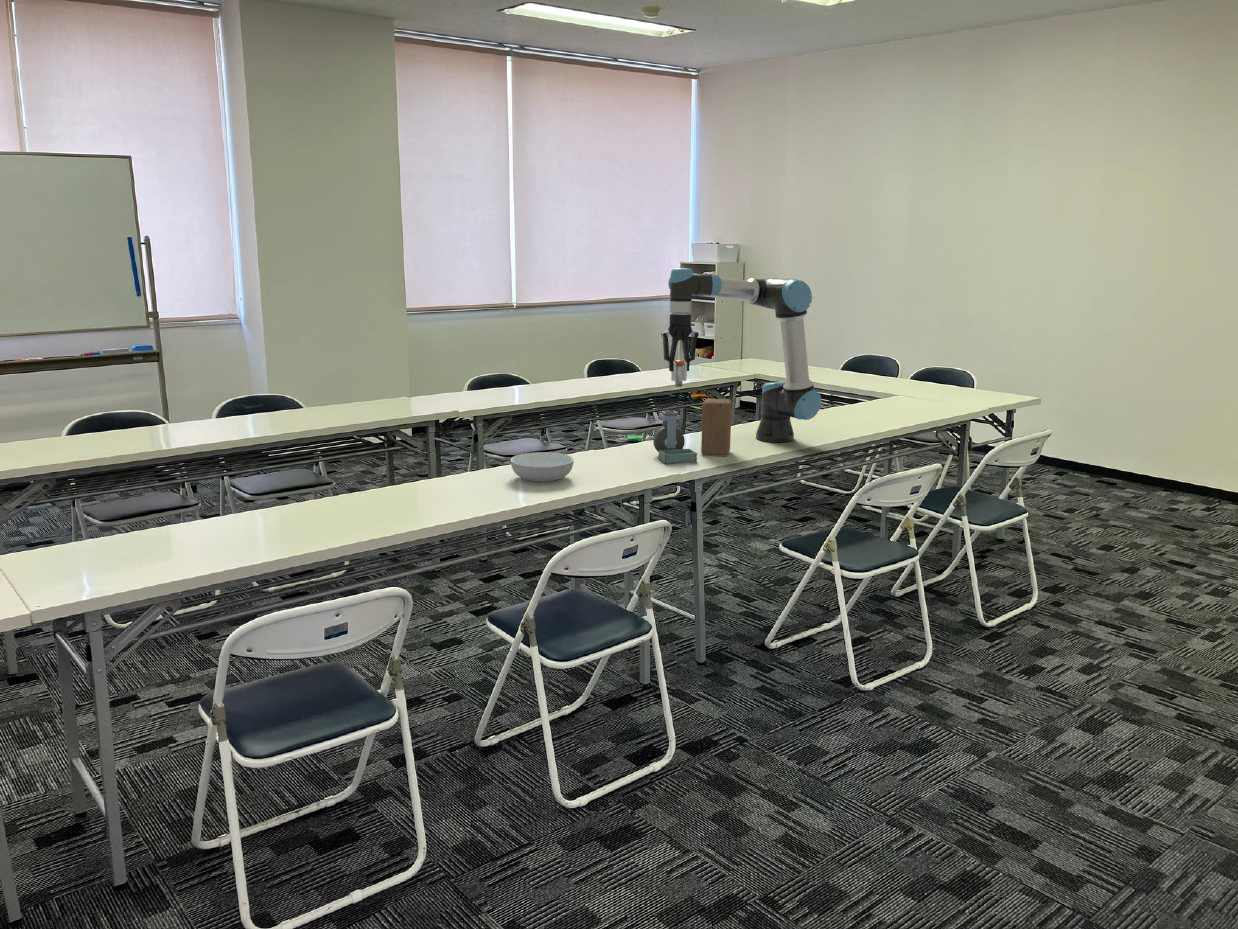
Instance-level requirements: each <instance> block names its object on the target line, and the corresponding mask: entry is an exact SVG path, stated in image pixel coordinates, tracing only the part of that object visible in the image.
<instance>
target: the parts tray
mask: <svg viewBox="0 0 1238 929" xmlns="http://www.w3.org/2000/svg"><path fill="white" fill-rule="evenodd" d="M658 461H660V462H661V463H663V464H664V465H678V464H692V463H696V464H697V462H698V452H696V451H694V450H693V449H691V448H683V449H672V450H659V452H658Z"/></svg>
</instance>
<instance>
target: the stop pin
mask: <svg viewBox="0 0 1238 929" xmlns="http://www.w3.org/2000/svg"><path fill="white" fill-rule="evenodd" d="M674 362H675V363H676V381H674V387H677V388H681V387H683V364H684V362H685V360H681V359H680V360H679V359H676V360H675V359H674Z"/></svg>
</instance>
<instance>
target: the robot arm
mask: <svg viewBox="0 0 1238 929" xmlns="http://www.w3.org/2000/svg"><path fill="white" fill-rule="evenodd" d="M667 285H668V288H669V290H670V291H669V313H670V314H669V326H668V328H667V330H666V331H664V332H661V333H660V335H661V337H662V346H663V348H662V349H663V359H664V361H666V362H668V370H669V372H671V373H670V374H671V376H670V378H671V379H670V380H671V381H673V382H675V381H676V363H675V362H674V361H675V358H676V353H677V348H678V344H679V342H680V341H681V344H682V350H683V352H682V353H683V358H684V364H683V381H684V382H687V380H688V378H687V377H688V376H687V373H688V372H689V371H690V363H691V362H692V361H695V359H696V351H697V339H698V337H699V335H700V333H699V332H697V331H694V330H693V328H692V315H691V313H692V302H693V301H692V300H693V297H695V296H696V297H709V298H717V299H724V300H732V301H733V300H734V301H743V302H744V303H745V304H747V305H754V306H758V307H763V308H765V309H770V310H774V313H775V318H776V319H777V320H778V321H779V323H780V330H781V331H780V332H781V339H782V350H783V351H782V352H783V359H784V369H785V370H784V371H785V379H786V380H785V381H775V382H766V383H764V384H763V385H762V390H761V391H762V392H761V411H760V412H761V415H760V421H759V424H758V426H757V430H756V433H755V439H756V440H758V441H762V442H767V443H787V442H792V441H794V440H795V432H794V430H793V425H792V422H791V418H794V419H797V420H800V421H801V420H803V421H804V420H805V421H810V420H812V419H814V418H815V416H817V414H818V412H820V410H821V406H822V397H821V394H820V393H819V392H818V391H816V390H815V385H814V381H812V380H811V379H810V375H809V374H810V373H809V363H808V354H807V353H808V352H807V342H806V334H805V333H806V332H805V323H804V322H805V321H804V318H805V317H806V315H807V314H808V311H807V310H808V309H809V308H810V306H811V304H812V300H813V293H812V290H811V288H810V286H809V285H808V284H807V283H806V281H803V280H801V279H797V278H775V277H772V278H749V279H748V280H745V279H744V280H743V279H735V278H729V277H728V278H727V277H721V276H719V274H716V273H693V269H692V268H682V267H681V268H676V267H675V268H672V269H671V272H670V277H669V278H668V284H667ZM669 337H671V345H669ZM689 337H691V338H690V345H689V344H688V342H689V340H688V338H689ZM689 347H690V348H689Z"/></svg>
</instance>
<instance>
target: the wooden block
mask: <svg viewBox="0 0 1238 929" xmlns="http://www.w3.org/2000/svg"><path fill="white" fill-rule="evenodd" d="M732 403H733V402H732V400H731V399H722V398H705V400H704V401H703V403H702V407H701V408H702V409H701V410H702V411H701V444H700V445H701V448H700V449H701V450H700V451H701V452H700V453H701V455H702V456H710V457H713V456H715V457H728V455H729V453H730V450H731V433H732V432H731V431H732V430H731V428H732V405H733V404H732Z"/></svg>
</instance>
